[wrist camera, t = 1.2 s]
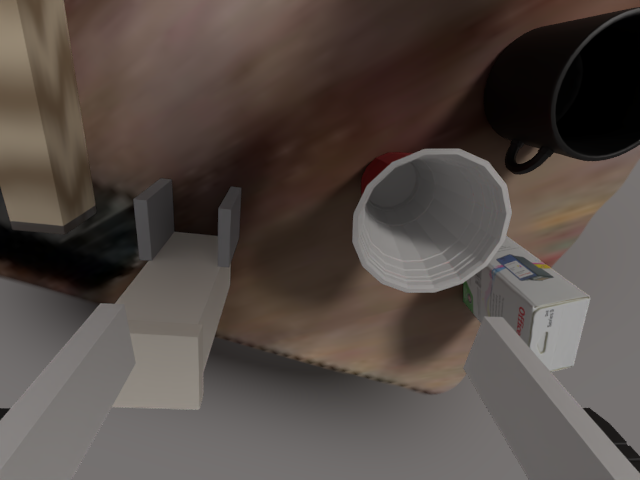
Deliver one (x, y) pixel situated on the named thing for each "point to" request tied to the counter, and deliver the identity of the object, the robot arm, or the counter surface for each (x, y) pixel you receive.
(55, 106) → the rail
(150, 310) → the grey forked bracket
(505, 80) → the mug
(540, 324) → the ink box
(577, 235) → the counter surface
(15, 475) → the robot arm
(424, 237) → the plastic cup
